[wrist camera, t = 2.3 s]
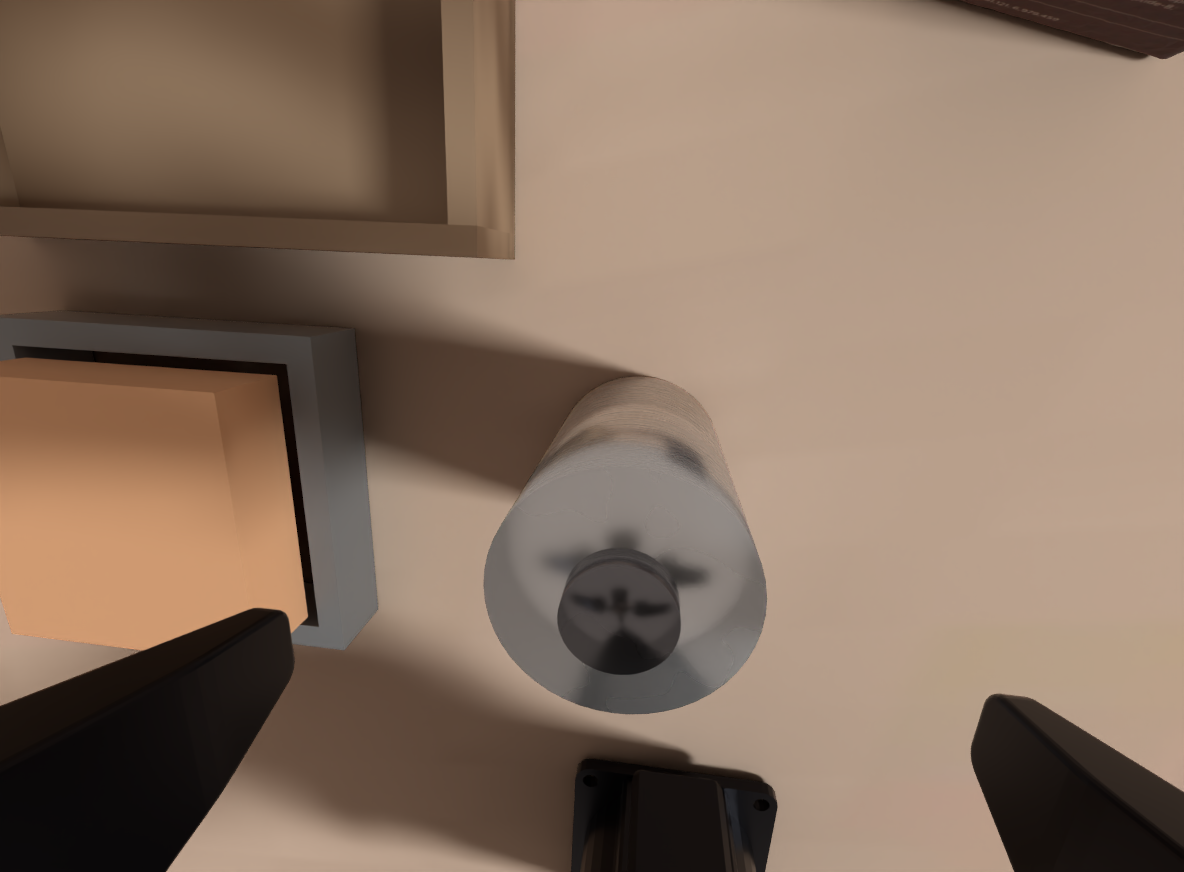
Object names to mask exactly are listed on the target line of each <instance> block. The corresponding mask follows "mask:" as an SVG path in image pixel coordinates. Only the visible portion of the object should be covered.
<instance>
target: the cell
mask: <svg viewBox="0 0 1184 872" xmlns="http://www.w3.org/2000/svg"><path fill="white" fill-rule="evenodd" d="M484 595H485V603H486V607H487V611H488V615H489V618H490V621H491V623H492V626H493V629H494V631H495V633H496V635H497V637H498V639H499V640H500V642H501V644H502V646H503V647H504V648H505V650H506V651H507V653H508V654H509V655H510V657H511V658H512V659H513V660H514V661H515V663H516V664H517V665H518V666H519V667H520V668H521V669H522V670H523V671H524V672H525V673H526V674H527V675H529V676H530V677H531V678H532V679H533V680H534V681H536V682H537V683H539V684H540V685H541V686H543V687H544V688H546V689H547V690H549V691H551V692H552V693H554V694H556V695H558V696H560V697H562V698H564V699H566V700H568V701H571V702H573V703H576V704H578V705H581V706H584V707H588V708H591V709H595V710H599V711H605V712H610V713H620V714H649V713H656V712H663V711H668V710H672V709H676V708H679V707H683V706H685V705H688V704H690V703H693V702H696V701H698V700H700V699H701V698H703V697H705V696H707V695H709V694H711V693H712V692H714V691H715V690H717V689H718V688H719V687H721V686H722V685H724V684H725V683H726V682H727V681H728V680H729V679H730V678H732V677H733V676H734V675H735V674H736V673H737V672H738V671H739V669H740V668H741V667H742V666H743V664H744V663H745V662H746V661H747V659H748V658H749V656H750V654H751V653H752V651H753V649H754V648H755V646H756V644H757V641H758V639H759V637H760V634H761V632H762V628H763V624H764V620H765V616H766V605H767V592H766V581H765V576H764V572H763V568H762V564H761V561H760V558H759V555H758V552H757V549H756V547H755V544H754V541H753V538H752V535H751V532H750V529H749V526H748V523H747V520H746V518H745V515H744V512H743V509H742V506H741V503H740V500H739V497H738V494H737V492H736V489H735V486H734V483H733V480H732V477H731V474H730V471H729V468H728V466H727V463H726V460H725V457H724V454H723V451H722V448H721V445H720V442H719V440H718V437H717V434H716V431H715V428H714V426H713V423H712V421H711V419H710V417H709V415H708V414H707V412H706V411H705V409H704V408H703V407H702V405H701V404H700V403H699V402H698V401H697V400H696V399H695V398H694V397H693V396H692V395H690V394H689V393H688V392H686V391H685V390H684V389H682V388H680V387H678V386H677V385H675V384H672V383H670V382H668V381H665V380H662V379H658V378H654V377H646V376H630V377H622V378H618V379H615V380H611V381H609V382H606V383H604V384H601V385H600V386H598V387H596V388H595V389H593V390H591V391H590V392H589V393H588V394H586V395H585V396H584V397H583V398H582V399H581V400H580V401H579V402H578V403H577V404H576V406H575V407H574V408H573V409H572V411H571V412H570V414H569V416H568V417H567V419H566V420H565V422H564V424H563V425H562V427H561V429H560V430H559V432H558V433H557V435H556V437H555V438H554V440H553V441H552V443H551V445H550V446H549V448H548V450H547V451H546V453H545V454H544V456H543V458H542V459H541V461H540V463H539V464H538V466H537V467H536V469H535V471H534V472H533V474H532V475H531V477H530V479H529V480H528V482H527V484H526V485H525V487H524V488H523V490H522V492H521V493H520V495H519V497H518V498H517V500H516V501H515V503H514V505H513V506H512V508H511V509H510V511H509V513H508V514H507V516H506V518H505V519H504V521H503V522H502V524H501V526H500V528H499V529H498V531H497V533H496V535H495V537H494V538H493V541H492V544H491V546H490V549H489V552H488V555H487V560H486V565H485V570H484Z"/></svg>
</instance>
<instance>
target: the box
mask: <svg viewBox="0 0 1184 872" xmlns="http://www.w3.org/2000/svg"><path fill="white" fill-rule="evenodd" d="M961 1H964V2H967V3H970V4H973V5H977V6H980V7H985V8H990V9H993V10H996V11H998V12H1001V13H1005V14H1008V15H1012V16H1016V17H1020V18H1023V19H1027V20H1030V21H1034V22H1037V23H1040V24H1043V25H1046V26H1050V27H1053V28H1057V29H1061V30H1065V31H1069V32H1072V33H1075V34H1078V35H1082V36H1085V37H1089V38H1092V39H1095V40H1099V41H1103V42H1106V43H1108V44H1111V45H1115V46H1119V47H1124V48H1127V49H1130V50H1133V51H1137V52H1141V53H1144V54H1148V55H1151V56H1154V57H1157V58H1160V59H1167V58H1170V57H1172V56H1174V55H1176V54H1178V53H1181V52H1183V51H1184V0H961Z"/></svg>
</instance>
